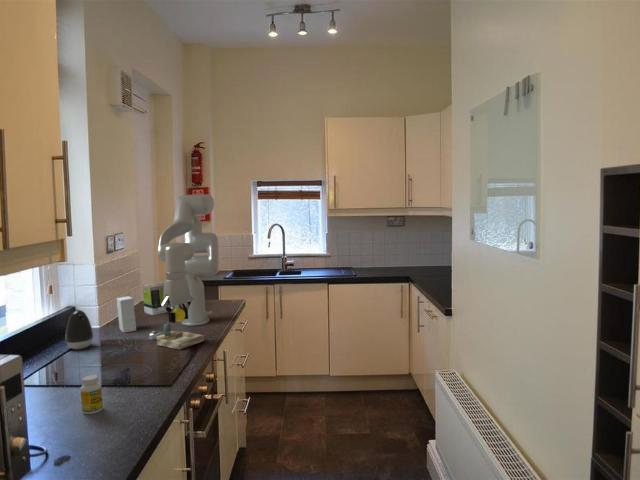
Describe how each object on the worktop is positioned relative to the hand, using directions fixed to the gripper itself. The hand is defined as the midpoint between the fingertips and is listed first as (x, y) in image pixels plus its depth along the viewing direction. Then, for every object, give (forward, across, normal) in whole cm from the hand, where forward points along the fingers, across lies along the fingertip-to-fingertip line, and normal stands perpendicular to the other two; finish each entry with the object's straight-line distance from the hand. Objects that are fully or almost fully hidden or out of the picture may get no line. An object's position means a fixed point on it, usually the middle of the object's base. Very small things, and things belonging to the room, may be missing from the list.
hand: (178, 320), depth 203 cm
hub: (+10, 0, -16) cm, 18 cm away
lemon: (+1, 0, 0) cm, 1 cm away
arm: (+10, 0, -3) cm, 10 cm away
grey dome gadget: (+10, +23, -33) cm, 41 cm away
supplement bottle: (+11, +56, +28) cm, 63 cm away
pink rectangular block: (+10, -3, -9) cm, 14 cm away
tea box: (+10, -35, -55) cm, 66 cm away
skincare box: (+10, -3, -39) cm, 40 cm away
